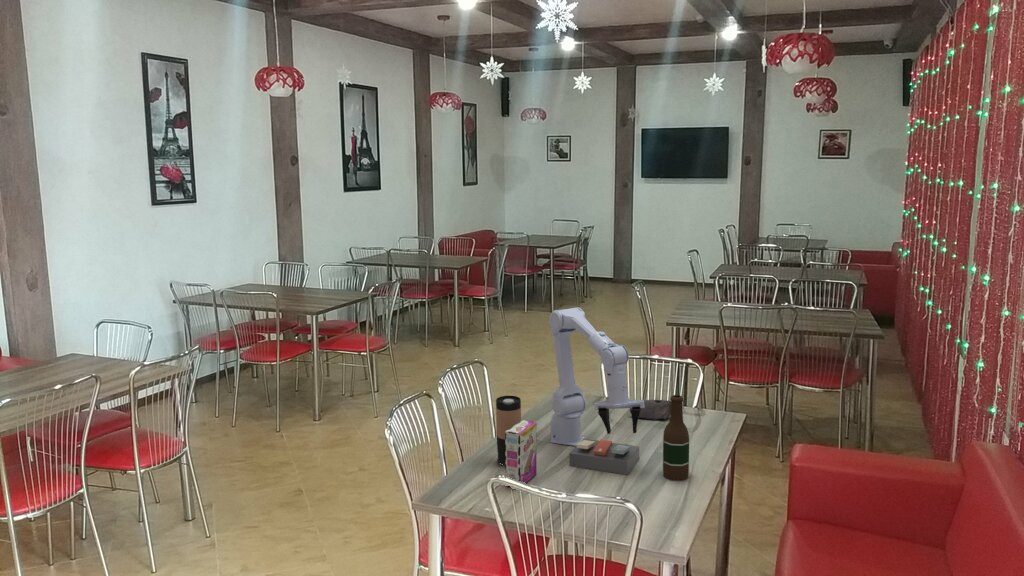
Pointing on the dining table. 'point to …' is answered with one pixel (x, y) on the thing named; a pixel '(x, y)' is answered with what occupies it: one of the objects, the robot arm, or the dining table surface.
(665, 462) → the beer bottle
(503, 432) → the travel mug
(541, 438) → the dining table surface
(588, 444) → the block
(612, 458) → the rocker switch panel
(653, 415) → the perforated stone tool
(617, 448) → the slate rocker
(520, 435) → the candy bar box
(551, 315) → the robot arm
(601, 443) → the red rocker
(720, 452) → the dining table surface
